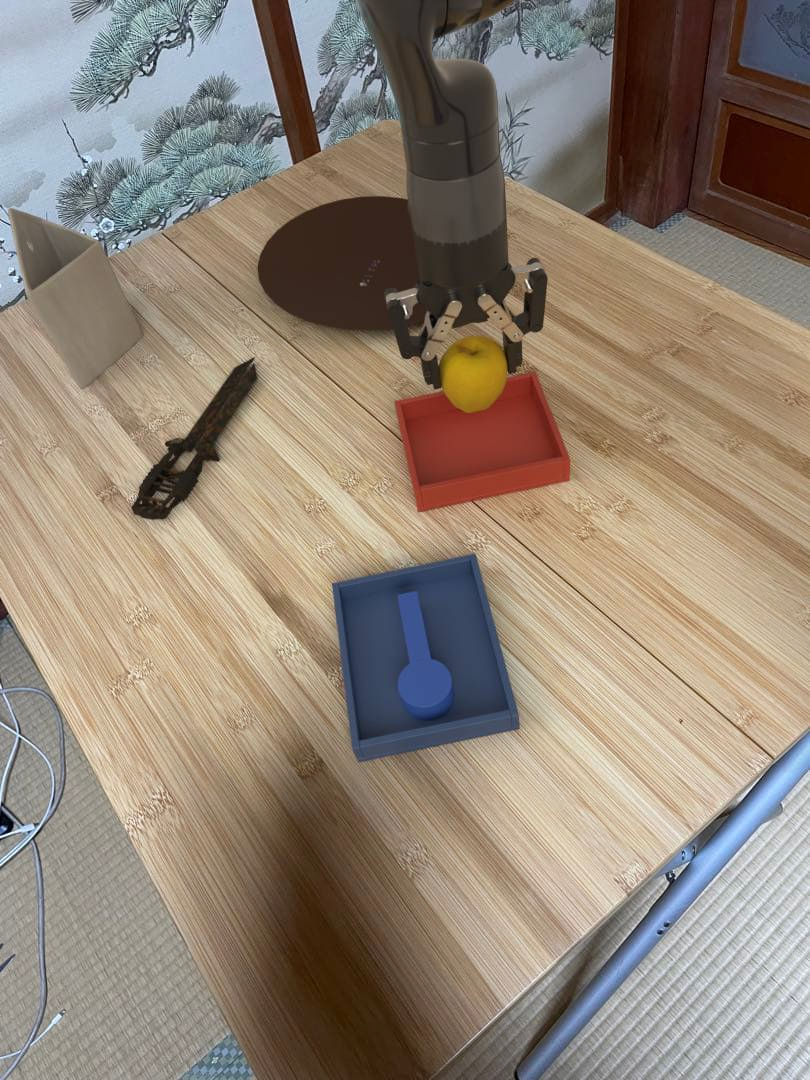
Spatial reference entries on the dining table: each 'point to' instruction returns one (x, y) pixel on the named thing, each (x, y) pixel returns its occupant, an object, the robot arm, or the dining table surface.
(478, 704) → the blue tray
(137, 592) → the dining table surface
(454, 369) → the apple
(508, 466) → the red tray
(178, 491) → the knife
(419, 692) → the spoon
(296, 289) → the plate
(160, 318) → the dining table surface
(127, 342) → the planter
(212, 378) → the dining table surface
